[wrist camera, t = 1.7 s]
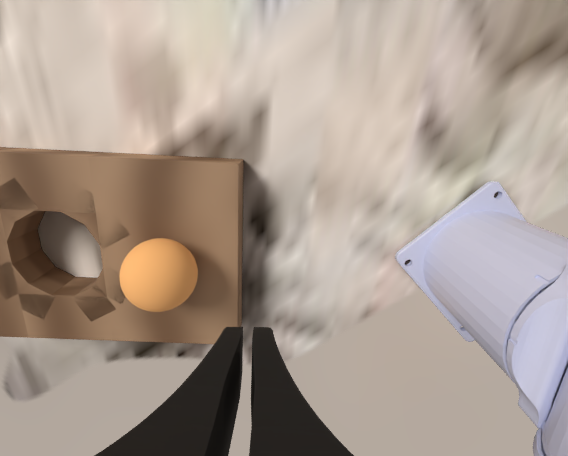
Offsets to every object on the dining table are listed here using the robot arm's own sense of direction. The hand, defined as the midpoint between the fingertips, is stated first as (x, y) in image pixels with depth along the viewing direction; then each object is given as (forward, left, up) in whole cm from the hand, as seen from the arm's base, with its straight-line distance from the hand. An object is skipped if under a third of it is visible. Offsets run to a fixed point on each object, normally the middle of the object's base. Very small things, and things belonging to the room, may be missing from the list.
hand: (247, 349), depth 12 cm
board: (+7, +7, -10) cm, 14 cm away
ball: (+4, +4, -6) cm, 8 cm away
